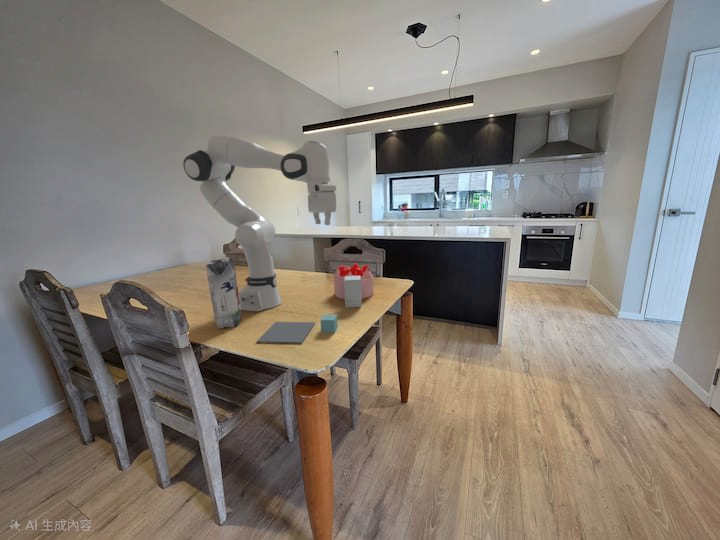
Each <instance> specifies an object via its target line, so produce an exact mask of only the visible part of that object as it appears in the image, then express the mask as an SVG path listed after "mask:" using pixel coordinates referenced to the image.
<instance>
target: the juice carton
mask: <svg viewBox="0 0 720 540" xmlns="http://www.w3.org/2000/svg"><path fill="white" fill-rule="evenodd" d="M205 267H206V278H207V282H208V288H209V294H210V295H209V296H210V298H211V299H210V300H211V305H212V310H213V317H214V321H215V324H216V326H217V329H219V328H222V329H225V328H224V327H229V328H233V327H232V326H236V327H238V326H239V323H240V321H241V318H242V317H241V316H242V310H241V305H240V299H239V287H238V281H237V274H236V267H235V264H234V261H233V258H230V257H229V256H222V257H221V256H220V259H212V260H210V263H207V264H206V265H205Z"/></svg>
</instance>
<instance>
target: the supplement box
mask: <svg viewBox="0 0 720 540" xmlns="http://www.w3.org/2000/svg"><path fill="white" fill-rule="evenodd" d="M344 290H345V300H344V304H345V305H344V307H345V308H361V307H362V300H363V299H361V276H345V278H344Z"/></svg>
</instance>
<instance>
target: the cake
mask: <svg viewBox="0 0 720 540" xmlns="http://www.w3.org/2000/svg"><path fill="white" fill-rule="evenodd" d="M345 276H361V300H365V299H367V298H370V297H372V296H373V295H374V289H375V287H374V275H373V274H372V272H371V270H370V268H369V266H368V265H365V263H363V264H362V266H361V267H360V266H359V264H358V263H354V264H353V266H351V267H350V266H349V265H346V266H344V265H340V266H339V268H338V267H337V269H336V271H335V272H334V274H333V287H334V296H335V297H336V298H338V299H340V300H344V301H345V290H344V278H345Z"/></svg>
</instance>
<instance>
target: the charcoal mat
mask: <svg viewBox="0 0 720 540" xmlns="http://www.w3.org/2000/svg"><path fill="white" fill-rule="evenodd" d="M315 324H316V322H313V321H310V322H309V321H275V322H274V323H273V324H272V325H271V326H270V327H269V328H268V329H267V330H266V331H265V332H264V333H263V334H262V335H261V336H260V337H258V339H257V341H256V343H257V342H266V343H265V344H285V343H293V344H294V345H302V344H303V343H304V341H305V340H306V338H307V337H308V335H309V334H310V332H311V331H312V329H313V328H314V326H315Z"/></svg>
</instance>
